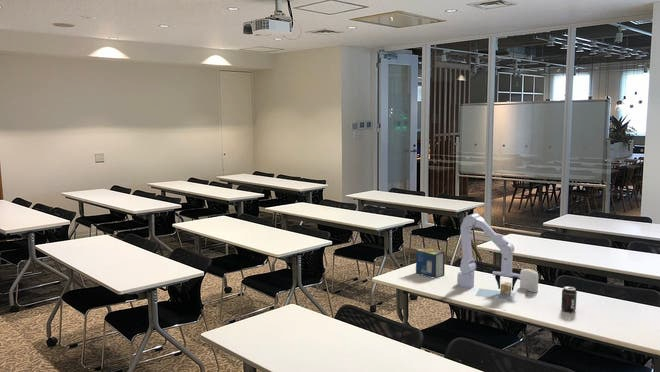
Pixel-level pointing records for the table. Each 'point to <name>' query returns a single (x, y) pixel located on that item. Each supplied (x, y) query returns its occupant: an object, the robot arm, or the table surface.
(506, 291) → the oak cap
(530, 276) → the photo printer
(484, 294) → the light blue flat board
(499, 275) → the robot arm
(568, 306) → the beverage can
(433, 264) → the protein box
